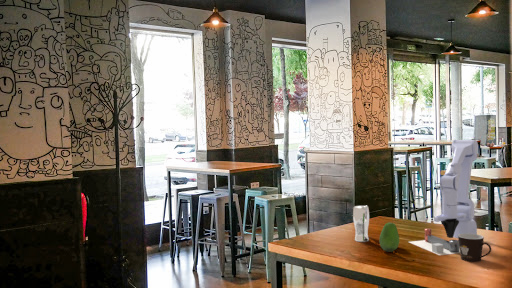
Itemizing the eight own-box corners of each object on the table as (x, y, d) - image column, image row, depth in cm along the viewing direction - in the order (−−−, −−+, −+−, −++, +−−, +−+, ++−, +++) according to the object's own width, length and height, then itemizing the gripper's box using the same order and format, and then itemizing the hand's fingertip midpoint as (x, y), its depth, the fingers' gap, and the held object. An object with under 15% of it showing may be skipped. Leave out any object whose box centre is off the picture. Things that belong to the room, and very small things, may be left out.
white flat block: (441, 241, 210) (441, 231, 210) (475, 255, 189) (475, 243, 189) (408, 245, 206) (407, 234, 206) (439, 259, 185) (439, 247, 185)
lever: (461, 251, 187) (461, 238, 187) (453, 252, 187) (453, 239, 186) (430, 239, 207) (429, 228, 207) (422, 240, 206) (422, 228, 206)
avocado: (400, 254, 193) (400, 224, 192) (380, 254, 194) (379, 224, 194) (398, 249, 201) (397, 220, 200) (378, 248, 202) (378, 220, 202)
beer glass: (369, 242, 213) (369, 208, 213) (353, 242, 215) (352, 208, 214) (369, 238, 220) (368, 205, 220) (353, 238, 222) (353, 205, 221)
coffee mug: (453, 260, 182) (453, 234, 182) (476, 259, 183) (475, 233, 183) (470, 269, 171) (469, 241, 170) (493, 268, 171) (493, 240, 171)
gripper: (456, 201, 206) (456, 233, 207) (428, 204, 201) (429, 237, 202) (469, 204, 200) (469, 236, 200) (440, 207, 195) (441, 240, 195)
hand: (450, 237), depth 201 cm, fingers closed
